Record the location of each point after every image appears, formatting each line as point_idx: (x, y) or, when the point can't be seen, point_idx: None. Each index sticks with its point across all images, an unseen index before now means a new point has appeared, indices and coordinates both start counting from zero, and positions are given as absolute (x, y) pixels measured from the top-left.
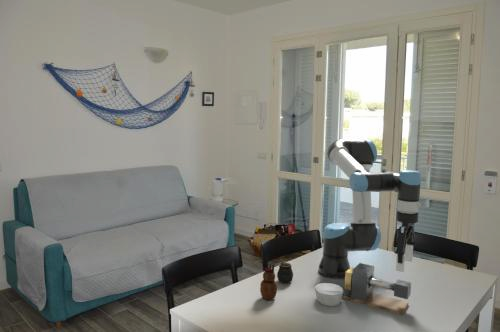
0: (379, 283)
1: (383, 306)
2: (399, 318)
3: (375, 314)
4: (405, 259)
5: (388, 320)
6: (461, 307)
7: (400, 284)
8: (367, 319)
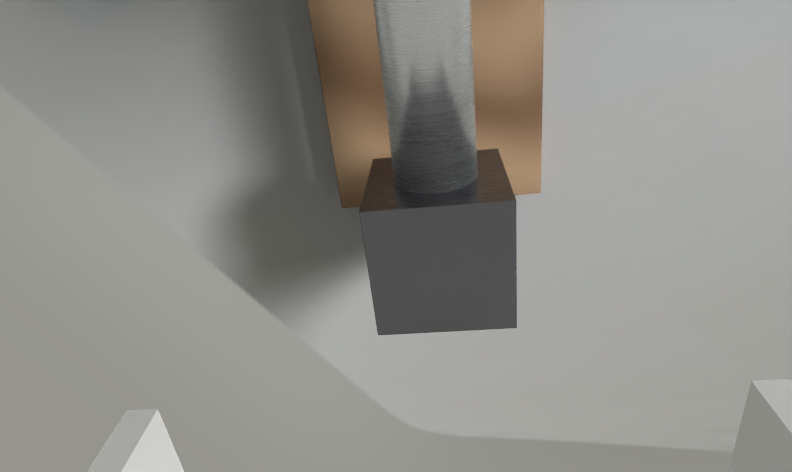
0: (374, 5)
1: (326, 65)
2: (286, 198)
3: (206, 44)
4: (758, 408)
5: (201, 153)
6: (699, 422)
7: (380, 266)
8: (85, 28)
